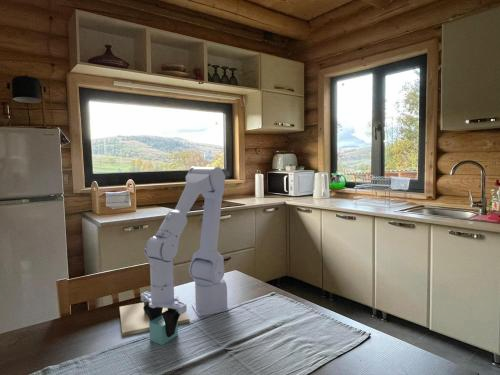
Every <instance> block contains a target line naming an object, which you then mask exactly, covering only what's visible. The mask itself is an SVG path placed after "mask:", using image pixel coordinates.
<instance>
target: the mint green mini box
mask: <svg viewBox="0 0 500 375" xmlns="http://www.w3.org/2000/svg"><path fill="white" fill-rule="evenodd" d="M149 328H150V331H149V341H151V342H152V343H153V342H154V343H156V344H158V345H160V346H164V345H165V344H166V343H169V341H171V340H173V339H174V338H175V337H177V336H178V335H179V331H178V329H179V328H178V323H177V325H176V329H175V334H174V335H172V336H171V337H167V334H166V326H165V321H164V319H163V316H162V315H161V316H159V317H157V318H155V319H154V320H152V321H150V322H149Z"/></svg>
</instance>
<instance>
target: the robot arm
mask: <svg viewBox="0 0 500 375" xmlns="http://www.w3.org/2000/svg"><path fill="white" fill-rule="evenodd" d="M225 182H226V175H225V173H224V170H223V169H222V168H221V167H220V166H215V167H214V166H213V167H211V166H197V165H196V166H191V167H190V168H189V169H188V172H187V174H186V175H185V183H186V184H185V186H184V189H183V191H182V194H181V195H180V197H179V200H178V202H177V204H176V207H175V209H173V210H170V211H168V212H167V213H166V215H165V216H164V219H163V221H162V223H161V224H160V226H159V228H158V230H157V231H156V233H155V235H153V236H152V237H150V238H149V239H147V241H146V243H145V246H144V249H143V253H144V255H145V256H146V257H147V261H148V262H147V263H148V265H149V274H150V275H149V276H150V277H149V278H150V291H144V292H142V293H141V294H140V301H141V302H142V303H143V302H144V301H148V304H147V305H146V306H144V307H143V308H144V311H145V312H146V314H147V315H148V317H149V319H150V321H152V320H154V319H155V318H157V317H159V316H161V315H162V316H163V319H164V321H165V326H166V334H167V337H171V336H172V335H174V334H175V329H176V325H177V322H178V319H179V317H180V315H181V314H183V313H185V312H186V313H187V307H188V306H187V303H184V302H182V301H181V299H180V298H179V299H180V300H179V299H177V298H176V297H177V296H175V286H174V285H175V284H174V282H175V280H174V258H175V257H176V255H177V254H178V251H179V244H180V237H181V235H182V234H183V231H184V229H185V227H187V224H188V218H187V215H188V213H189V211H190V210H191V209H192V207H193V205H194V204H195V202H196V200H197V199H198V198H199V196H200V195H201V196H202V197H203V198H204V200H203V201H204V202H203V212H202V213H203V214H202V222H201V229H200V230H201V233H200V241H199V248H198V250H197V251H195V252H193V254H192V256H191V257H192V258H191V261H190V264H189V268H188V274H189V276H190V277H191V278H192V281H193V282H194V286H195V287H194V288H195V289H194V291H195V303H192V304H191V306H192V309H193V310H194V311H195V314H196V315H197V317H203V316H209V315H212V314H218V313H222V312H228V310H229V308H228V286H227V282H226V279H224V276H225V270H226V269H225V264H224V263H225V262H224V261H225V260H224V259H225V258H224V256H223V255H222V254H221V253H220V252H219V251H218V242H219V234H220V233H219V230H220V222H221V212H222V201H223V196H224V194H225V193H224V192H225ZM163 308H168V310H167V311H165V312H163V313H162V310H163Z"/></svg>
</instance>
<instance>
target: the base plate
mask: <svg viewBox="0 0 500 375" xmlns="http://www.w3.org/2000/svg"><path fill="white" fill-rule="evenodd" d="M175 297H176V298H177V299H179V300H180V301H181V298H180V297H179V296H175ZM147 304H148V301H144V302H143V301H142V302H139V303H134V304H133V303H132V304H127V305H122V306H119V316H120V325H121V326H120V328H121V336H122V337H126V336H131V335H135V334H139V333H140V334H141V333H145V332H150V328H149V322H150V319H149V317H148V315H147V314H146V312H145V311H144V308H143V307H144V306H146V305H147ZM167 310H168V308H163V310H162V313H163V312H165V311H167ZM177 323H178V325H182V324H183V325H184V324H188V323H191V318H190V317H189V314H188V313H187V311H186V312H185V313H183V314H181V315H180V317H179V319H178V322H177Z"/></svg>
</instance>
